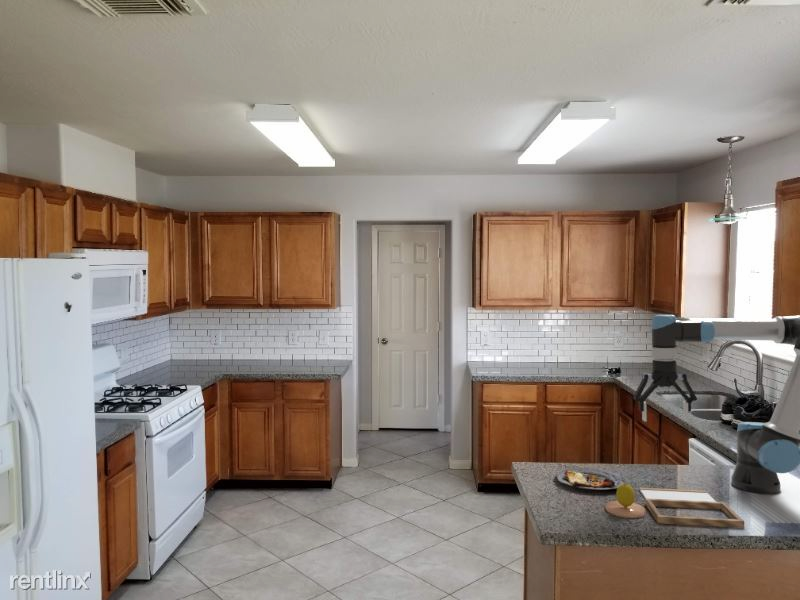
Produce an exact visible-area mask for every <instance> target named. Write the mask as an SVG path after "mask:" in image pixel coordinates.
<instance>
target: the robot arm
mask: <svg viewBox="0 0 800 600" xmlns="http://www.w3.org/2000/svg"><path fill="white" fill-rule="evenodd" d="M651 319H652V320H651V341H652V344H651V345H652V349H651V350H652V351H651V352H652V353H651V354H652V355H651V357H652V359H653V360H651V361H652V363H651V365H652V366H651V367H652V368H651V369H652V373H646V372H643V373H642V380H641V381H640V383H639V385H638V386H637V389H636V391H635V393H634V395H633V396H632V397H633V399H634V401H638V411H640V412H641V413H642V415H641V416H642V418H641V420H642V421H643V422H647V421H648V420H647V419H648V418H647V416H648V415H647V411H648V410H647V402H646V400H647V398H649V396H650V395H651V394H652V393H653V392H654V391H655V390H656V389H657V388H658V387H660V388H663V387H667V388H670V387H672V388H673V389H674V390H676V392H678V394H679V395H680V396H681V397H682V398H683V399H684V401H682V403H683V404H682V406H683V407H682V408H683V410H682V411H683V412H682V416H683V417H682V418H683V419H682V420H683V421H684V422H686V423H688V422H689V412H690V413H691V412H692V403H693V402H695V401H697V400H698V398H697V396H696V393H695V392H694V390H693V388H692V386H691V385H690V383H689V381H688V377H687V374H686V373H684V372H681V373H677V361H676V359H677V343H711V342H713V341H714V340H731V341H732V340H734V341H749V340H750V341H773V342H775V344H780V345H781V344H783V345H784V344H785V345H792V346H793V351H794V352H795V354H796V355H795V358H794V361H793V363H792V366H791V368H790V371H789V373H788V376H787V379H786V381H785V383H784V386H783V388H782V390H781V394H780V395H779V398H778V400H777V403H776V405H775V408H774V411H773V412H772V415H771V418H770V419H769V421H768V422H757V421H756V422H755V421H753V422H752V421H744V422H739V423H738V424H737V430H736V433H737V434H736V435H737V436H736V444H737V445H736V456H737V457H736V464H735V468H734V470H733V471H732V475H731V482H730V483H731V485H733V487H734V488H738V489H740V490H743V491H745V492H751V493H756V494H766V495H767V494H769V495H770V494H777V493H779V492H781V487H782V486H781V482H780V478H779V475H778V474H788V473H791V472H793V471H794V470H796V469H797V468H798V467H799V466H800V314H799V315H797V314H796V315H788V316H784V315H783V316H781V315H780V316H778V315H777V316H775V317H773V318H722V317H721V318H715V317H714V318H712V317H710V318H708V317H704V318H703V317H699V318H697V317H696V318H695V317H684V316H683V317H682V316H681V317H679V316H678V317H676V315H674V314H656V315H655V314H654V315H653V316H652V318H651ZM650 379H652V380H653V381H652V382H651V383H650V385H649V386H648V387H647V389H645V388H646V386H647V384H648V381H650ZM677 379H679V380H681V382H682V385H683V387H684V388H685V390H686V392H687V394H688V395H687V394H686V392H685V391H684V390H683V389H682V388H681V387H680V386H679V384H678V383H677V382H676V381H677ZM644 390H645V391H644Z"/></svg>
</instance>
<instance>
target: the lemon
mask: <svg viewBox="0 0 800 600" xmlns="http://www.w3.org/2000/svg"><path fill="white" fill-rule="evenodd" d="M615 495H616V501H618V502H619V503H620V504H621V505H622V506H624V507H625V508H627V507H628V506H631V505H632V504H633V503H635V499H636V495H635V490H634V489H633V487H632V486H631V485H629V484H628V483H627V482H624V484H622V485H620V486H619V487H618V488H617V489H616V493H615Z"/></svg>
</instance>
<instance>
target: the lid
mask: <svg viewBox="0 0 800 600" xmlns="http://www.w3.org/2000/svg"><path fill="white" fill-rule="evenodd" d="M638 488H639V489H638V490H639V492H640V494H641V495H642V496H643V498H644V499H645V498H648V499H668V500H688V501H708V502H717V501H716V500H715V499H714V498H713V497H712V496H711V495H710V494H709V493H708V491H707V490H699V489H696V490H695V489H679V488H678V489H677V488H660V487H659V488H658V487H657V488H656V487H655V488H654V487H638Z"/></svg>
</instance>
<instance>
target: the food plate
mask: <svg viewBox="0 0 800 600" xmlns="http://www.w3.org/2000/svg"><path fill="white" fill-rule="evenodd" d="M582 473H584V474H588V475H586V477H589V479H590V481H592V482H593V483H591V484H589V483H587V481H586V480H587V479H586V478H584V477H583V476H584V475H582ZM556 477H557V481H558V482H559V483H561V484H564V485H565V486H569V487H573V488H577V489H584V490H593V491H595V490H596V491H608V490H617V489H618V487H619V486H620V485H622V484H624V483H625V480H624V479H623V478H622V476H621V475H620V474H618V473H614V472H611V471H608V470H605V469H600V468H594V467H579V466H578V467H567V468H562V469H560V470H558V471H557V472H556ZM598 477H599V478H598ZM602 477H603V480H602V481H598V480H600V478H602ZM604 478H605V479H604ZM589 479H588V480H589Z"/></svg>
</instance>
